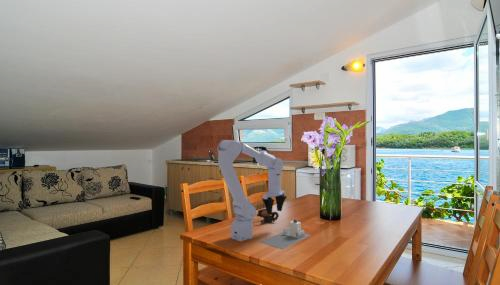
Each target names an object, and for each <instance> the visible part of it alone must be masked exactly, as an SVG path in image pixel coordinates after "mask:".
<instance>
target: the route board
mask: <svg viewBox="0 0 500 285" xmlns="http://www.w3.org/2000/svg"><path fill="white" fill-rule="evenodd" d="M283 234H284V231H282V232H280V233H278V234H275V235H272V236H270V237H267V238H265V239H263V240H260V241H259V243H261V244H264V245H268V246H271V247H273V248H277V249H280V250H284V249H287V248H288V247H290V246H293V245H294V244H297V243H299V242H300V241H303V240H305V239H307V238H309V237H311V236H312V234H311V235H310V234H308V233H304V234H305V236H302V237H300V238H298V239H296V238H292V237H288V236H284V235H283Z"/></svg>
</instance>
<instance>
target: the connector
mask: <svg viewBox="0 0 500 285" xmlns="http://www.w3.org/2000/svg"><path fill="white" fill-rule="evenodd" d="M289 227H290V235H294V236H296V232H298V231H301V230H302V222H300V221H298V219H293V220H292V221H289Z"/></svg>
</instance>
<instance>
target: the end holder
mask: <svg viewBox="0 0 500 285" xmlns="http://www.w3.org/2000/svg"><path fill="white" fill-rule="evenodd" d="M283 232H284V234H283V235H284V236H288V237H292V238H296V239H298V238H300V237H302V236H305V234H306V233H305V230H304V229H301V231H298V232H296V236H294V235H290V226H289V227H286V228H283Z"/></svg>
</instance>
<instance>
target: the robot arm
mask: <svg viewBox="0 0 500 285" xmlns="http://www.w3.org/2000/svg"><path fill="white" fill-rule="evenodd" d="M216 149H217V153H218V156H217V157H218V158H217V165H218V168H219V169H220V172H221V174H222V177H223V179H224V181H225V183H226V185H227V188H228V191H229V192H230V195H231V198H232V199H233V201H232V206H233V208H232V209H233V213H234V214H235V218H236V219H235V220H234V221H232V223H231V224H230V239H232V240H235V241H238V242H243V241H247V240H250V239H252V238H254V236H253V235H254V233H253V232H254V226H253V224H254V222H253V221H254V218H255V216H257V208H256V207H255V205H254V204H252V202H251V200H250V199H249V198H248V197H247V196H246V194H245V191H244V189H243V187H242V184H241V182H240V179H239V178H238V175H237V173H236V171H235V168H234V166H233V163H234V161H235V160H236V159H237V158H238V156H239V155H240V154H244V155H247V156H249V157H251V158H255V161H256V163H258V164H260V165H262V166H264V167H266V168H267V169H268V186H267V187H268V192H266V193H264V194H262V199H261V200H262V202H263V204H264V206H265V209H266V210H267V214H272V212H273V205H274V203H276V210H277V211H278V212H282V211H283V206H284V203H285V200H286V199H287V195H286V190H281V188H282V186H281V183H282V179H281V178H282V172H283V171H282V169H283V168H284V165H285V164H284V163H283V160H282V159H281V158H280V157H275V155H274V154H270V153H269V152H267V150H259V151H258V150H256V149H255V148H254V147H253V148H252V146H249V145H248V144H246V143H244V142H243V141H239V140H237V139H233V140H232V139H231V140H228V139H222V140H221V141H220V142H219V144H218V146H217V148H216ZM272 198H275V199H272ZM275 201H276V202H275ZM277 211H276V212H277Z"/></svg>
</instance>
